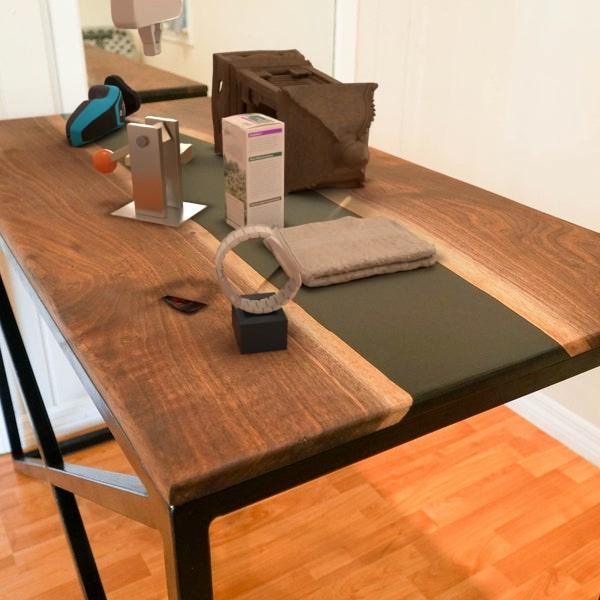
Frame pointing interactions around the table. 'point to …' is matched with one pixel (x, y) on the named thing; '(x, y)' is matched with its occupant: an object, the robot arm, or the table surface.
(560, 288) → the table surface
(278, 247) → the watch
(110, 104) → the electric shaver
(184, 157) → the control box
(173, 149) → the switch bracket
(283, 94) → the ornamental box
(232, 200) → the syrup box
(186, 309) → the dark red faceted gem
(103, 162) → the switch lever
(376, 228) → the washcloth
